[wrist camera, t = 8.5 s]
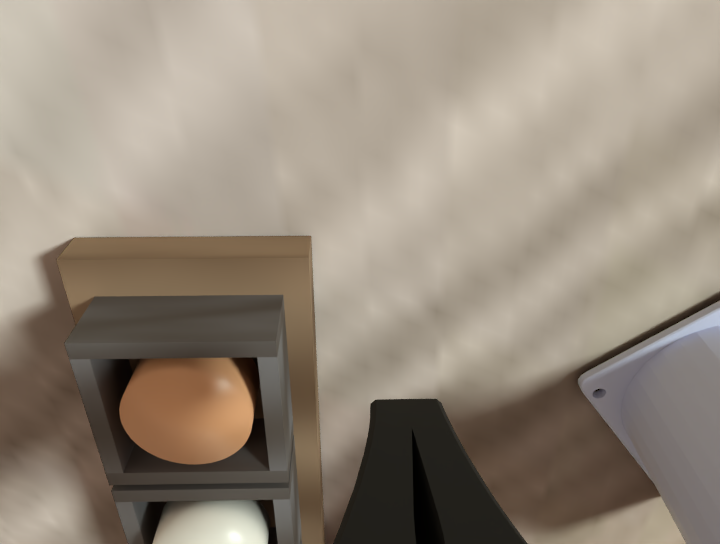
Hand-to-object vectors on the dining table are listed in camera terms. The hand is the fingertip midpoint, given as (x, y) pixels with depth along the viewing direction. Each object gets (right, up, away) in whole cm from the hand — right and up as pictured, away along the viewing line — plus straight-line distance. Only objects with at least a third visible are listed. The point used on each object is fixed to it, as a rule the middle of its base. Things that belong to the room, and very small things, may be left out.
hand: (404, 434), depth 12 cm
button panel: (-7, -5, +14) cm, 16 cm away
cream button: (-7, -6, +11) cm, 14 cm away
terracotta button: (-7, 0, +9) cm, 11 cm away
